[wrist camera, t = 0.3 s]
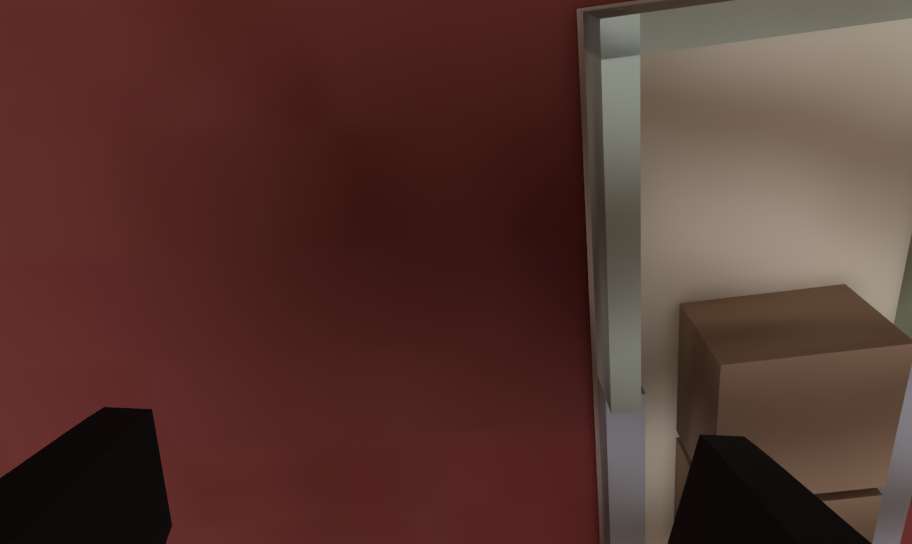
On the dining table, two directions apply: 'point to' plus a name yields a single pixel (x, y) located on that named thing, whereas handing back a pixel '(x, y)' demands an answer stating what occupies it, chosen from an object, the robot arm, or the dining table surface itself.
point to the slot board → (734, 202)
